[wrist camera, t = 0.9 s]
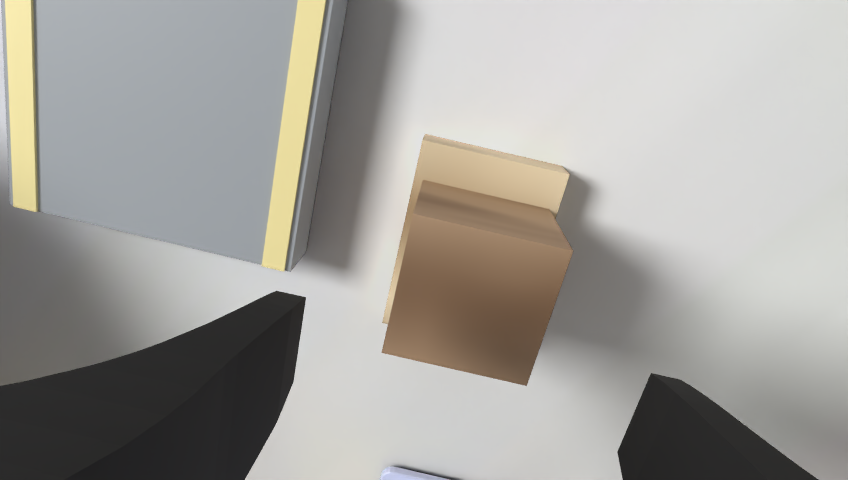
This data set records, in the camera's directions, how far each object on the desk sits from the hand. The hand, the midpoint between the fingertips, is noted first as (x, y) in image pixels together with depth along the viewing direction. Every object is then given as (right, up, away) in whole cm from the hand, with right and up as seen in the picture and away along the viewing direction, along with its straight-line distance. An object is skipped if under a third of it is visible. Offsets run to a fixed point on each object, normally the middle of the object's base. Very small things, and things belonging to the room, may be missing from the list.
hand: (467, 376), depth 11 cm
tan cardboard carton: (+1, +3, +9) cm, 10 cm away
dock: (-9, +8, +8) cm, 14 cm away
